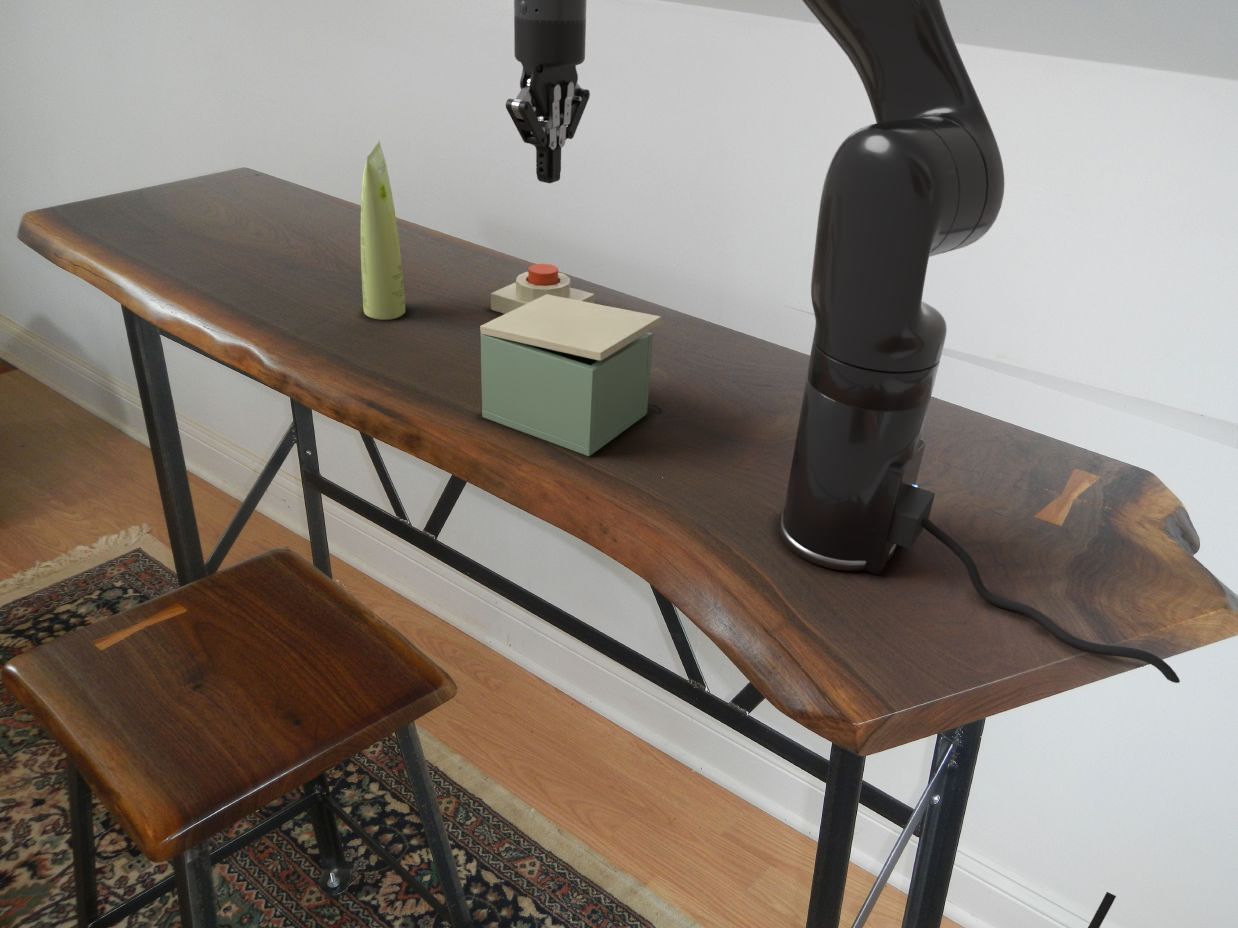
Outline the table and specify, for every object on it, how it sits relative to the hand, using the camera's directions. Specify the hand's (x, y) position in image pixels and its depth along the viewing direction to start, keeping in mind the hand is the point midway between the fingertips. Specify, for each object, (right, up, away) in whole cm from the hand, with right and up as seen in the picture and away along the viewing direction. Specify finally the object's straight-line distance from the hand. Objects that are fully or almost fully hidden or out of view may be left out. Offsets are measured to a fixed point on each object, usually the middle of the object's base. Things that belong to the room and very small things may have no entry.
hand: (548, 181), depth 109 cm
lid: (+4, -19, -19) cm, 27 cm away
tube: (-20, -14, +6) cm, 26 cm away
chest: (+3, -27, -14) cm, 31 cm away
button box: (-1, -13, +10) cm, 16 cm away
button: (-1, -10, +8) cm, 13 cm away
